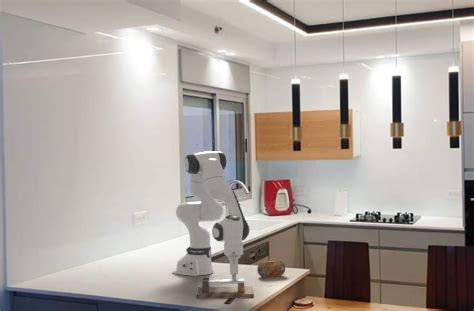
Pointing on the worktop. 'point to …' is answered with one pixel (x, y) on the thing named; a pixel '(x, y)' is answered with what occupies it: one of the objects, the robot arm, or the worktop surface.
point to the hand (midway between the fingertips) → (234, 280)
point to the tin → (271, 269)
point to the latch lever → (226, 281)
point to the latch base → (223, 291)
